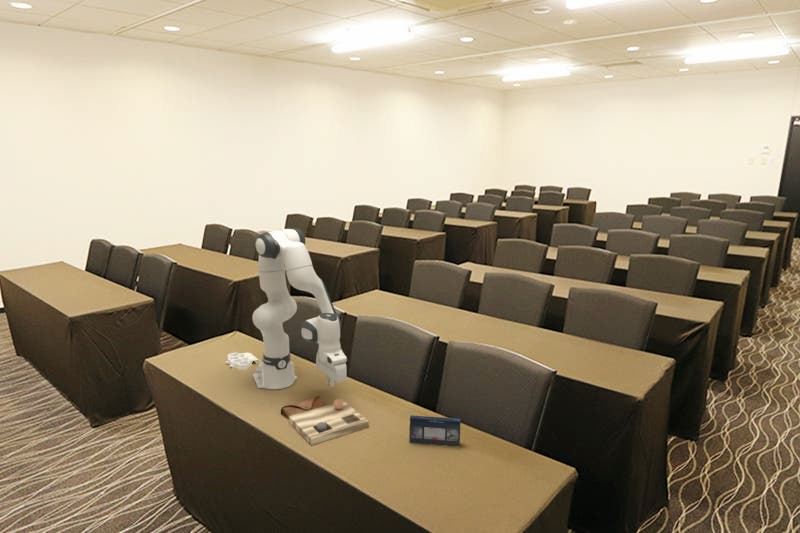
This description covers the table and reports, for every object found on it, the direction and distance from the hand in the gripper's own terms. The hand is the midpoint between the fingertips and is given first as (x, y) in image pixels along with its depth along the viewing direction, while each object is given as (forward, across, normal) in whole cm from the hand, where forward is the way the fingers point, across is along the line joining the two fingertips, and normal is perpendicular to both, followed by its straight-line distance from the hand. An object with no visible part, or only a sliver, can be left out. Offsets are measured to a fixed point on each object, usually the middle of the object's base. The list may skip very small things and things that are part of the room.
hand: (331, 385), depth 211 cm
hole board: (+10, +11, -7) cm, 17 cm away
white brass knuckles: (+9, -66, -16) cm, 68 cm away
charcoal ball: (+8, +16, -12) cm, 21 cm away
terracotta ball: (+6, +6, 0) cm, 8 cm away
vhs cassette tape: (+12, +44, +19) cm, 49 cm away
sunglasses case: (+10, -4, -10) cm, 15 cm away
